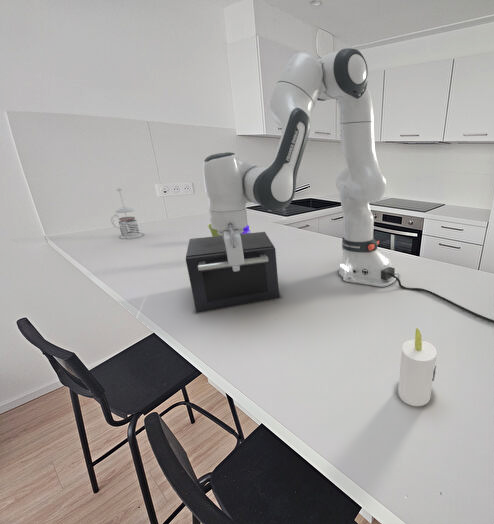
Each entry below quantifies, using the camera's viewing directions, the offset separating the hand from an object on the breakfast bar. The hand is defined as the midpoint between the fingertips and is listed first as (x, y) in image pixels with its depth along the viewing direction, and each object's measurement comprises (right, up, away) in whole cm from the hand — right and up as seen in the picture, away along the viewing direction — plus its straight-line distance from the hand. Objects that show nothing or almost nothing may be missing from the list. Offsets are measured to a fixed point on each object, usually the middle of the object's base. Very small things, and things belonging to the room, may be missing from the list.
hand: (236, 269), depth 81 cm
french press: (-86, +16, +77) cm, 117 cm away
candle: (+44, -24, -23) cm, 55 cm away
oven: (-7, -8, +19) cm, 21 cm away
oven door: (-2, -11, +8) cm, 14 cm away
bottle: (-15, +5, +51) cm, 53 cm away
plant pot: (-35, +13, +71) cm, 80 cm away
